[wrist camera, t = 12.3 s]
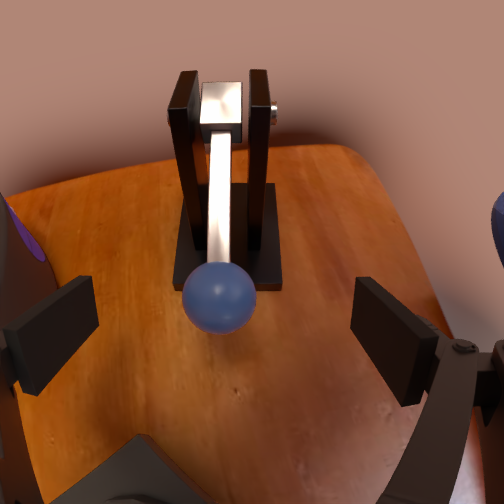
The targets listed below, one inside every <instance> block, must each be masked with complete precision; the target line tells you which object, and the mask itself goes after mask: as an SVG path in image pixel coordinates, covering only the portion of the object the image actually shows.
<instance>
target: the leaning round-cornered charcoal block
mask: <svg viewBox="0 0 504 504" xmlns="http://www.w3.org/2000/svg"><path fill="white" fill-rule="evenodd" d="M56 290H57V286H56V281H55V277H54V274H53V271H52V268H51V266H50V263H49V261H48V259H47V257H46V255H45V253H44V252H43V250H42V249H41V247H40V246H39V244H38V243H37V242H36V241H35V239H34V238H33V237H32V236H31V234H30V233H29V232H28V230H27V229H26V228H25V227H24V225H23V224H22V223H21V221H20V220H19V219H18V217H17V216H16V213H15V211H14V210H13V208H12V207H11V206H9V205H8V203H7V202H6V200H5V199H4V198H3V196H2V195H1V193H0V331H1V330H2V328H3V327H5V326H6V325H7V324H9V323H10V322H11V321H13V320H14V319H16V318H17V317H19V316H20V315H21V314H23V313H24V312H26V311H27V310H28V309H30V308H31V307H33V306H34V305H36V304H37V303H39V302H40V301H42V300H43V299H44V298H46V297H47V296H49V295H50V294H52V293H53V292H55V291H56Z"/></svg>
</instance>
